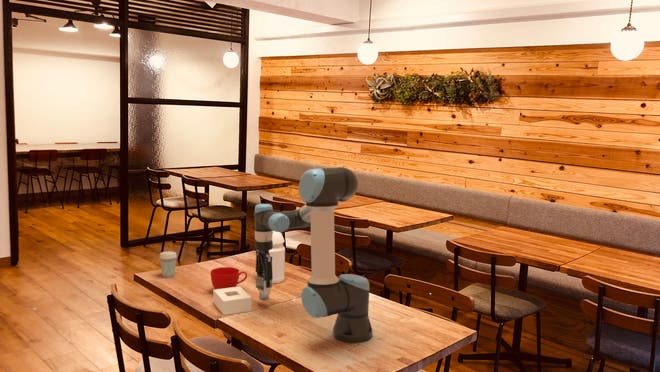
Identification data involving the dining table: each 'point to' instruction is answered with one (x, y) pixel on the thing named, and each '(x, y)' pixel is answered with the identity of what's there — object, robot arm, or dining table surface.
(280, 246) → the bottle
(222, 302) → the block
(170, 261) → the coffee cup
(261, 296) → the pin
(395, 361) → the dining table surface
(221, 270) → the ceramic cup
